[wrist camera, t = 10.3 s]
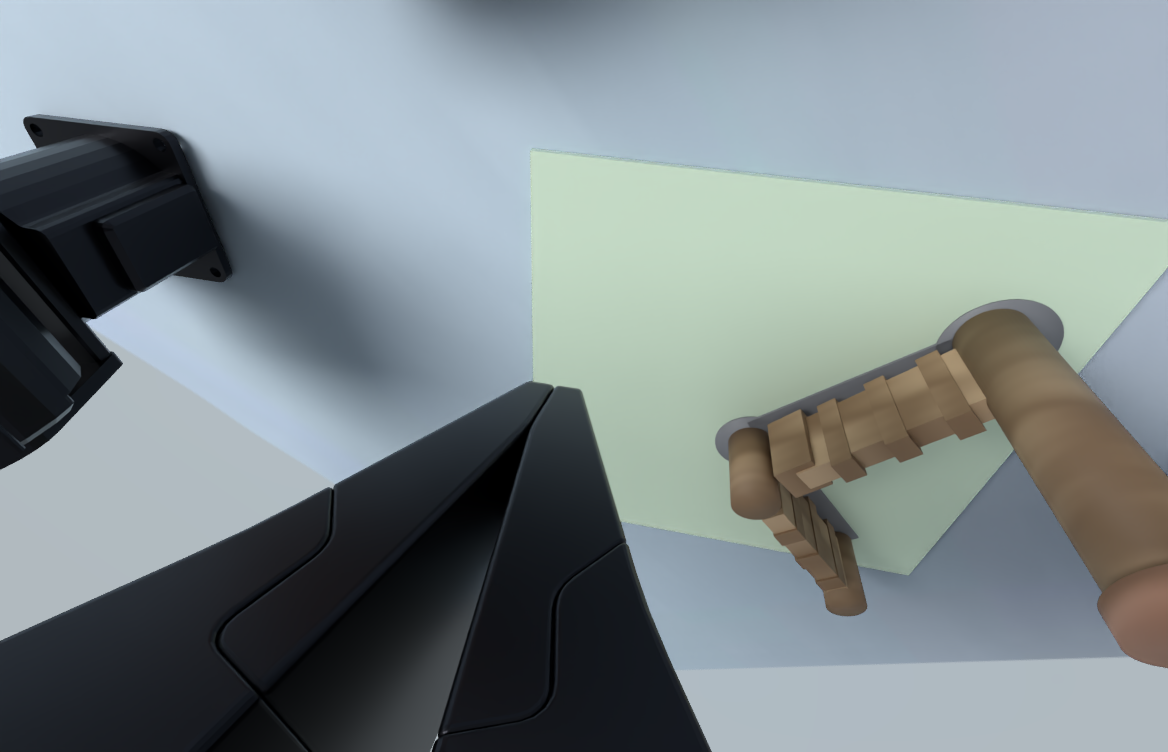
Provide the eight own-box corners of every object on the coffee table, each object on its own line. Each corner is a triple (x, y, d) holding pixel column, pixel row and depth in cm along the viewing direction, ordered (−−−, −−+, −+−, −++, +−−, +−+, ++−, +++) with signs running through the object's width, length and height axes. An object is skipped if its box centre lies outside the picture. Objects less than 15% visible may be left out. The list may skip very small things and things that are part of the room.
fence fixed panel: (719, 431, 25) (721, 498, 22) (758, 415, 24) (765, 483, 21) (820, 548, 29) (834, 619, 26) (857, 539, 28) (875, 611, 25)
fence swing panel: (795, 453, 24) (841, 715, 16) (758, 415, 23) (787, 673, 15) (1054, 343, 19) (1332, 655, 10) (1020, 286, 18) (1298, 582, 9)
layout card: (535, 501, 31) (534, 506, 31) (532, 148, 18) (529, 151, 18) (906, 570, 29) (909, 577, 28) (1195, 222, 16) (1204, 227, 16)
